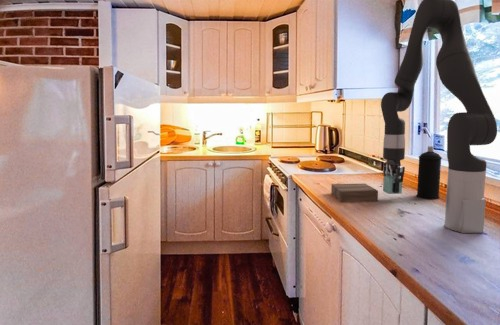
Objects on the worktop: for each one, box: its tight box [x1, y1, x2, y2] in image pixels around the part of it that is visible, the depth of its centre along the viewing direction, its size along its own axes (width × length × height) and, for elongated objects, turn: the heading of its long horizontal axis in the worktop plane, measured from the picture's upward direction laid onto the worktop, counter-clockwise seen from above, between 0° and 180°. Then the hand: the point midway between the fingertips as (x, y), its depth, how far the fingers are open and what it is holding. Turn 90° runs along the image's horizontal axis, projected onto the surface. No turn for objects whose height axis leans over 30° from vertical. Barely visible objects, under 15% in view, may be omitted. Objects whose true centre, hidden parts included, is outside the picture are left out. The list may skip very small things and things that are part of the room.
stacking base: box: [331, 183, 379, 203], centre depth 144 cm, size 14×14×4 cm
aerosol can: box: [415, 145, 443, 200], centre depth 142 cm, size 8×8×20 cm
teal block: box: [382, 175, 403, 195], centre depth 138 cm, size 5×5×6 cm
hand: (392, 191), depth 138 cm, fingers closed on teal block, 5 cm apart
